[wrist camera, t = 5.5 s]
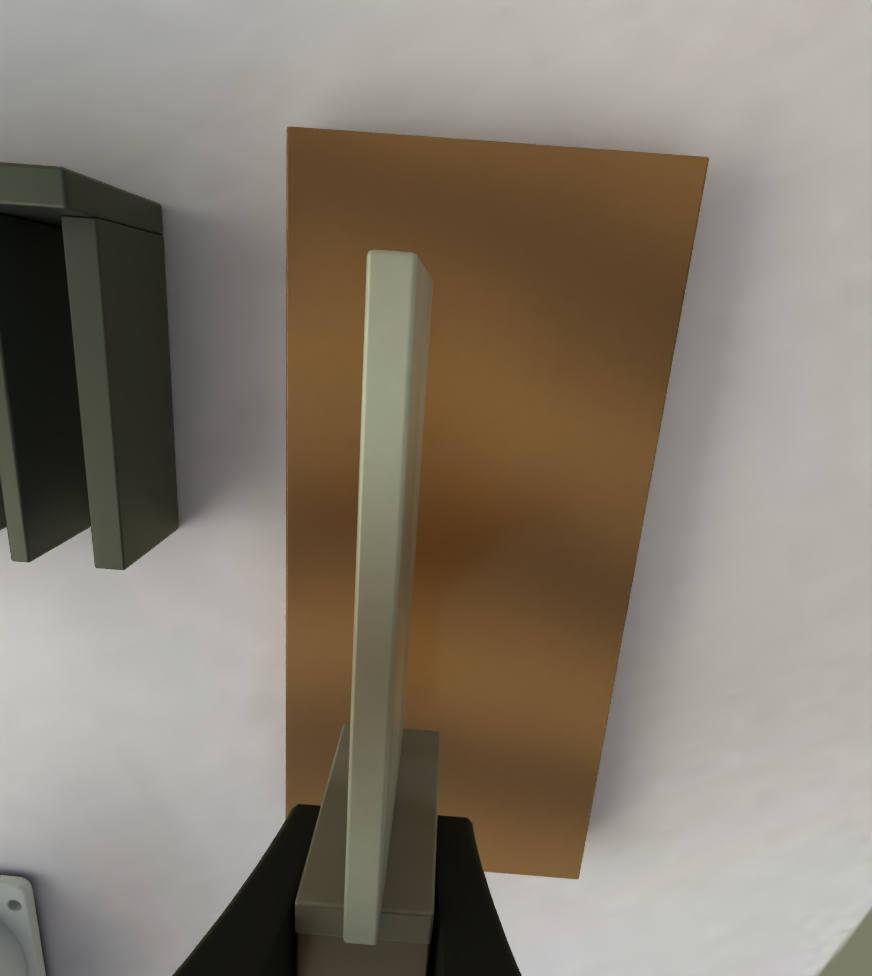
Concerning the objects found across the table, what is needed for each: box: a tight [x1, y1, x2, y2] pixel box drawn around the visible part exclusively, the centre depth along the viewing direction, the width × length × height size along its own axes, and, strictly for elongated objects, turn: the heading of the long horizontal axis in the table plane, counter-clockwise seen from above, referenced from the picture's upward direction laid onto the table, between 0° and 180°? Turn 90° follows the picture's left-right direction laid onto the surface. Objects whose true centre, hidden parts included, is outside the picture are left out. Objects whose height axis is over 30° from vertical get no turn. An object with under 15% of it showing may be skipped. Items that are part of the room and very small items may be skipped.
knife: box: [295, 249, 440, 976], centre depth 10 cm, size 16×2×4 cm, turn 176°
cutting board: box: [286, 126, 709, 879], centre depth 18 cm, size 22×10×2 cm, turn 176°
